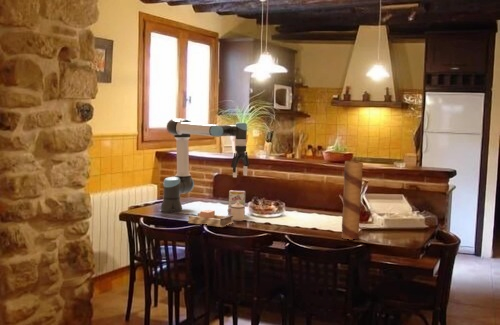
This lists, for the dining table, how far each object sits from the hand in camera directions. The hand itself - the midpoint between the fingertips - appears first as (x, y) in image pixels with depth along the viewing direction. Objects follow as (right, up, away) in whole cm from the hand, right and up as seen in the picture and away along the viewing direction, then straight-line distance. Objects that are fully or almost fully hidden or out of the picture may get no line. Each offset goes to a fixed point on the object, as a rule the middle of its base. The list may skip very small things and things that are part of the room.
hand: (240, 176), depth 392 cm
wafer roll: (+65, -35, -59) cm, 94 cm away
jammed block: (-20, -28, -25) cm, 42 cm away
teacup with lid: (-3, -28, -11) cm, 30 cm away
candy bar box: (-2, -27, +6) cm, 27 cm away
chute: (-18, -29, -26) cm, 43 cm away
